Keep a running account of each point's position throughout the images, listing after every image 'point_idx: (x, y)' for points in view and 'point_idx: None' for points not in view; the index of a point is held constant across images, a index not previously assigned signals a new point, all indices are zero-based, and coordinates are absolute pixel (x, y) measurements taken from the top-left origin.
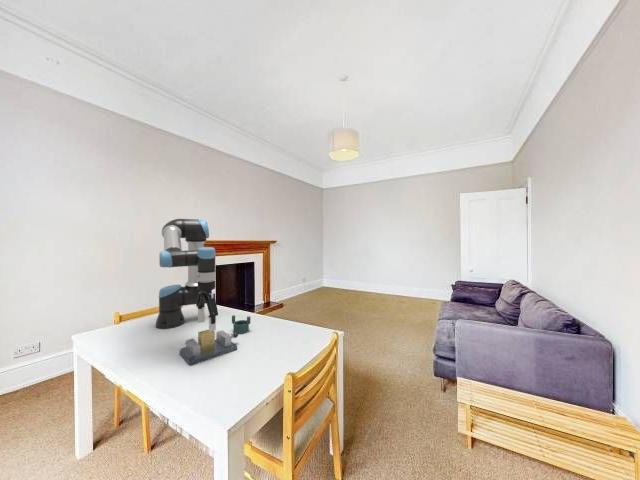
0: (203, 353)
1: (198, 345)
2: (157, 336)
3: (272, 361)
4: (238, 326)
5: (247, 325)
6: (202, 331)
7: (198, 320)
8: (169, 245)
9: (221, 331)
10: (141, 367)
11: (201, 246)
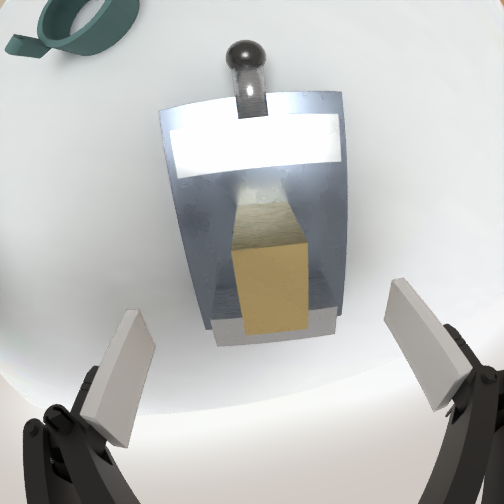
0: (312, 262)
1: (330, 313)
2: (34, 330)
3: (486, 72)
4: (105, 18)
5: None
6: (252, 314)
7: (147, 361)
8: None
9: (192, 143)
10: (238, 391)
11: None
